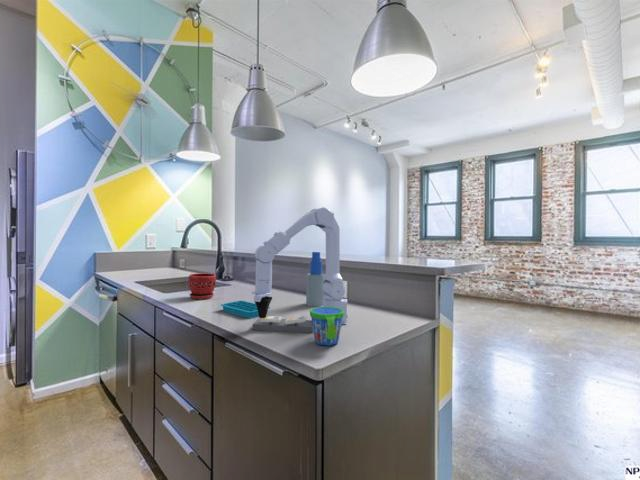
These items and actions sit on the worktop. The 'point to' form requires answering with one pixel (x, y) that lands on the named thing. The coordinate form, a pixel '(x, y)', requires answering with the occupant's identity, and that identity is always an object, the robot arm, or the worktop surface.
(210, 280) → the plant pot
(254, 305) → the ice cube tray
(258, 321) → the power strip
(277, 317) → the outlet rocker
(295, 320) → the rocker switch
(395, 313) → the worktop surface
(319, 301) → the spray bottle
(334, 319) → the snack cup
